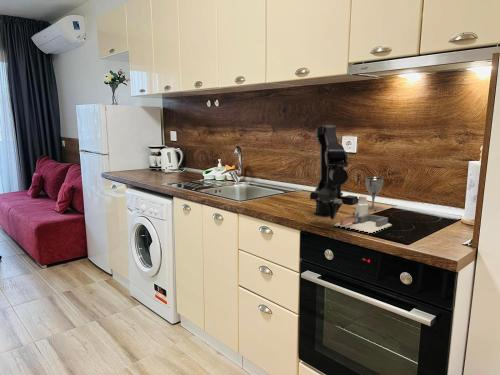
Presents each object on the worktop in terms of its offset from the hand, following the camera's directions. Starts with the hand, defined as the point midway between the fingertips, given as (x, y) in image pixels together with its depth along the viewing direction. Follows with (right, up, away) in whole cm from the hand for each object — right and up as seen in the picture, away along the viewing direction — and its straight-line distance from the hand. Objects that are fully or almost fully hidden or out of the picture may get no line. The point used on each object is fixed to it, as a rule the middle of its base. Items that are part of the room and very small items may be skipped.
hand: (332, 218), depth 146 cm
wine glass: (+27, +2, +32) cm, 42 cm away
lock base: (+13, -3, +2) cm, 13 cm away
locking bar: (+7, -3, 0) cm, 7 cm away
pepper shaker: (+16, -1, +15) cm, 22 cm away
